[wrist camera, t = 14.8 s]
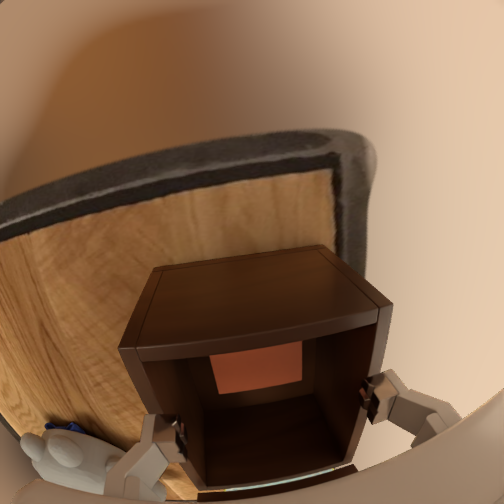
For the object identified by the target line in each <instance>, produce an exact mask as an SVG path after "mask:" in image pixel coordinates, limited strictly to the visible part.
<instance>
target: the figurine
mask: <svg viewBox="0 0 504 504" xmlns="http://www.w3.org/2000/svg"><path fill="white" fill-rule="evenodd" d="M45 428H46V431H44V432H43V434H42V437H39V436H38V435H35V434H33V433H25V434H24V435H23V436H22V438H21V441H20V443H21V447H22V449H23V450H24V452H25V453H26V454H27V455H28V456H29V457H31V458H32V465H33V467H34V468H35V470H36V471H38V472H39V474H40V475H41V477H42V478H43V479H44V480H45V481H48V482H51V483H55V484H58V485H61V486H65V487H69V488H73V489H77V490H81V491H85V492H90V493H95V494H100V495H103V491H104V486H105V480H106V475H107V472H108V471H109V470H110V469H111V468H112V467H113V466H114V465H115V464H116V463H117V462H118V461H119V460H120V459H121V458H122V457H123V456H124V455H125V454H126V452H124V451H123V450H121V449H119V448H117V447H115V446H113V445H111V444H109V443H107V442H105V441H102V440H100V439H97V438H94V437H92V436H89V435H85V431H84V430H82V429H81V428H80V427H79V426H77V425H76V424H75V423H73V422H72V423H70V424H69V425H68V426H67V427H65V426H58V427H56V426H55V425H54V424H52V423H46V424H45ZM151 490H152V491H153V492H154V493H155V494H156V495H157V496H158V497H160V498H161V502H164V501H165V499H166V495H167V492H166V488H165V486H164V485H163V484H162V483H161V482H160V481H159V480H158V481H157V482H156V483H155V485H154V486H153V488H152V489H151Z"/></svg>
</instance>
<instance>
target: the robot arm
mask: <svg viewBox="0 0 504 504" xmlns="http://www.w3.org/2000/svg"><path fill="white" fill-rule="evenodd" d="M361 386H362V388H361V389H360V391H359V395H358V397H359V402H360V405H361V407H362V409H364V410H367V414H366V416H367V417H368V419H369V421H370V422H371V424H372V425H373V424H376V423H379V422H381V421H384V420H387V419H388V420H389V421H390V422H392V423H394V424H396V425H397V426H399V427H401V428H402V429H404V430H406V431H408V432H410V433H411V434H413V435H415V436H416V437H415V438H414V440H413V442H412V444H411V447H412V449H410V450H408V451H406V452H404V453H402V454H400V455H398V456H395V457H393V458H391V459H389V460H386V461H384V462H382V463H379V464H377V465H374V466H372V467H369V468H367V469H364V470H362V471H359V472H356V473H353V474H351V475H348V476H345V477H342V478H339V479H335V480H332V481H329V482H325V483H322V484H318V485H315V486H311V487H307V488H303V489H299V490H294V491H289V492H285V493H280V494H274V495H268V496H262V497H256V498H248V499H240V500H230V501H216V502H161V498H160V497H158V496H157V495H156V494H155V493H154V492H153V491H152V490H151V489H152V488H153V486H154V485H155V483H156V482H157V481H158V479H159V478H160V476H161V475H162V474H163V472H164V471H165V469H166V468H167V466H168V465H169V463H179V462H187V453H188V450H187V449H186V447H185V445H186V444H187V443H188V437H187V430H186V427H185V425H184V424H183V423H182V422H181V417H180V415H179V414H146V415H145V416H144V420H143V426H142V432H141V438H140V443H136V444H135V445H134V446H133V447H132V448H131V449H130V450H129V451H128V452H127V453H126V454H125V455H124V456H123V457H122V458H121V459H120V460H119V461H118V462H117V463H116V464H115V465H114V466H113V467H112V468H111V469H110V470H109V471H108V472H107V475H106V480H105V486H104V491H103V495H100V494H95V493H90V492H85V491H81V490H77V489H73V488H69V487H65V486H61V485H58V484H55V483H51V482H48V481H45V480H42V479H36V480H34V481H32V482H30V483H29V484H27V485H25V486H24V487H23V488H21V489H20V490H18V491H17V492H16V494H15V495H14V497H13V499H12V502H11V503H10V504H504V388H503V389H502V390H501V391H499V392H498V393H497V394H496V395H495V396H493V397H492V398H491V399H489V400H488V401H487V402H486V403H484V404H483V405H482V406H480V407H479V408H477V409H476V410H475V411H473V412H472V413H470V414H469V415H468V416H466V417H465V418H463V419H462V418H461V417H460V415H459V414H458V413H457V412H456V410H455V409H454V408H453V407H452V406H451V404H450V403H448V402H445V401H442V400H439V399H436V398H434V397H431V396H428V395H425V394H423V393H420V392H417V391H415V390H412V389H410V390H408V388H407V387H406V386H405V385H404V383H403V382H402V381H401V380H400V378H399V377H398V376H397V375H396V373H395V372H394V371H393V370H392V369H390V370H387V371H384V372H382V373H378V374H375V375H372V376H370V377H367V378H364V379H362V381H361Z"/></svg>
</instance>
